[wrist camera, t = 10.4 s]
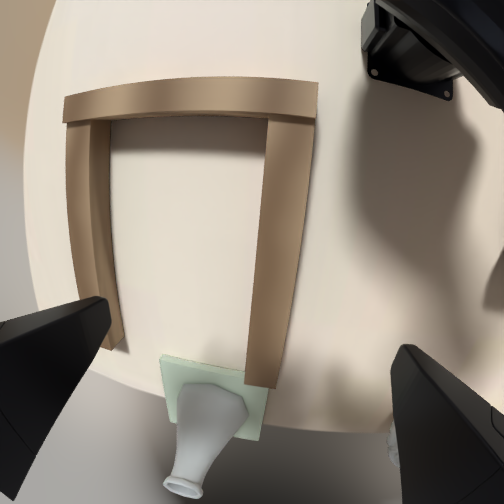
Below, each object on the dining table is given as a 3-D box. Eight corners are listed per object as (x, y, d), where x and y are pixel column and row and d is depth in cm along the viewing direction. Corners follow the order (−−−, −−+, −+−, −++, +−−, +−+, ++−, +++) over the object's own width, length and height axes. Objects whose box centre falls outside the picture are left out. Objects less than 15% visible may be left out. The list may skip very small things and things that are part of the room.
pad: (271, 375, 23) (269, 382, 23) (259, 435, 27) (258, 441, 26) (162, 354, 25) (159, 359, 24) (172, 416, 28) (170, 421, 27)
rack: (315, 93, 16) (318, 82, 13) (278, 368, 23) (274, 393, 20) (89, 99, 18) (64, 96, 15) (103, 329, 25) (87, 346, 22)
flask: (174, 372, 24) (129, 457, 15) (253, 389, 23) (229, 487, 14) (180, 417, 27) (147, 490, 17) (246, 432, 26) (227, 512, 16)
